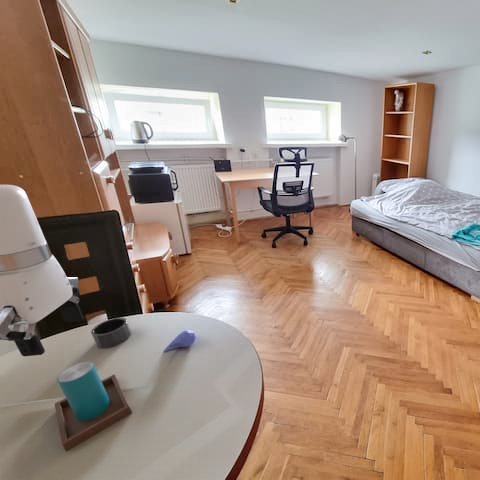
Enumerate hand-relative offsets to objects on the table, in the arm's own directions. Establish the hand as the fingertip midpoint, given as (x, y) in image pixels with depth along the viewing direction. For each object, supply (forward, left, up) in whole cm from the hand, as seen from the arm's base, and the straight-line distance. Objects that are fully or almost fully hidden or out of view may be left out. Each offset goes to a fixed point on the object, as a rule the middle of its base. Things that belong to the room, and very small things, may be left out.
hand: (56, 336), depth 56 cm
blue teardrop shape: (+12, +19, -21) cm, 30 cm away
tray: (+1, 0, -21) cm, 21 cm away
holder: (-9, +25, -21) cm, 33 cm away
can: (+1, 0, -20) cm, 20 cm away
